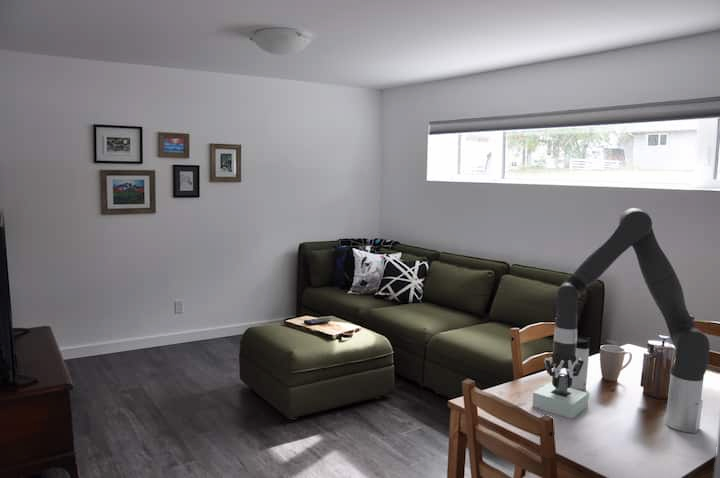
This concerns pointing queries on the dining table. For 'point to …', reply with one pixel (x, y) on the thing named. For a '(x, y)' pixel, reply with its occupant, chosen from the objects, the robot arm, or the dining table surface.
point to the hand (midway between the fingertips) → (561, 386)
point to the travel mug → (583, 354)
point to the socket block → (560, 401)
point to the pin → (562, 385)
